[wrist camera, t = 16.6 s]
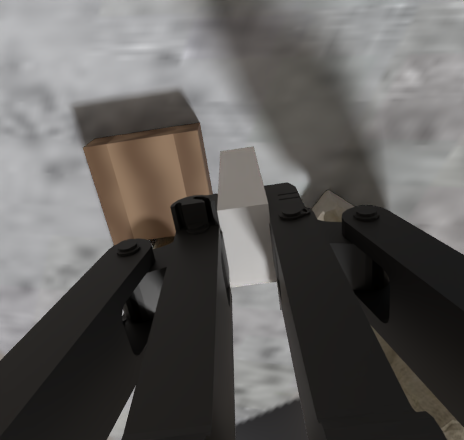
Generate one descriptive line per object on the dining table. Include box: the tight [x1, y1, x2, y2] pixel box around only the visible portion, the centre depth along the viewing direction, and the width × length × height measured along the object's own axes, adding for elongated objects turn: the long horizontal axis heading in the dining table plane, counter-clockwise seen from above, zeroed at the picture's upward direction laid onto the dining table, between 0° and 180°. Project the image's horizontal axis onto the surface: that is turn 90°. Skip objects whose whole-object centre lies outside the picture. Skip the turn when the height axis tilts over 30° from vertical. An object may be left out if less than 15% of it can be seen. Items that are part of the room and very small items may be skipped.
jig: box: [83, 123, 213, 245], centre depth 45 cm, size 12×22×4 cm, turn 8°
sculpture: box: [312, 190, 464, 440], centre depth 35 cm, size 15×8×30 cm, turn 58°
